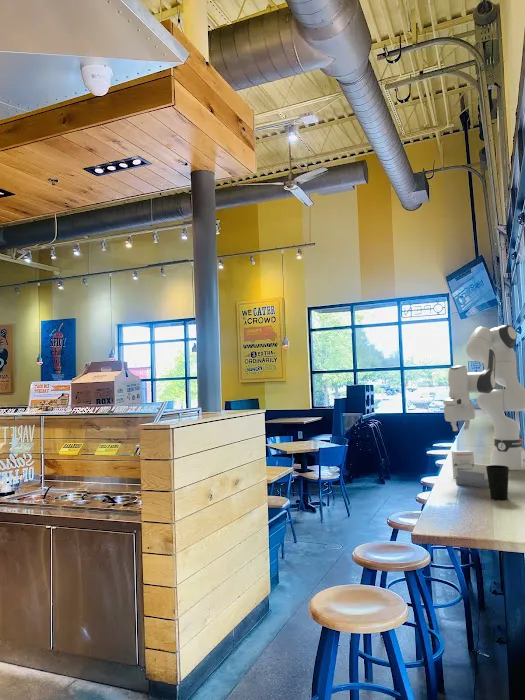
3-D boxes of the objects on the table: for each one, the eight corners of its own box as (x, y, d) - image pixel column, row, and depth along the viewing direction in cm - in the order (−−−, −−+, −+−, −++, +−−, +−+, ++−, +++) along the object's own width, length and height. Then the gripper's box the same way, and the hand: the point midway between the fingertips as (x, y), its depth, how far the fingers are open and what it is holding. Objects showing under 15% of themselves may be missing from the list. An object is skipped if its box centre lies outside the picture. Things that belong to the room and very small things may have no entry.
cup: (513, 501, 186) (511, 468, 187) (490, 501, 188) (488, 468, 188) (507, 497, 194) (505, 465, 194) (485, 496, 195) (484, 465, 196)
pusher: (476, 479, 227) (475, 463, 227) (499, 482, 219) (498, 465, 219) (470, 480, 224) (469, 464, 224) (493, 484, 216) (492, 467, 216)
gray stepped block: (475, 478, 229) (474, 465, 230) (505, 482, 219) (504, 468, 219) (456, 484, 219) (455, 470, 220) (486, 488, 209) (485, 473, 209)
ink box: (471, 475, 237) (470, 450, 238) (475, 477, 232) (473, 451, 233) (452, 476, 238) (451, 450, 238) (455, 478, 233) (454, 451, 233)
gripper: (465, 399, 246) (466, 428, 245) (441, 401, 233) (442, 431, 232) (477, 399, 241) (479, 429, 240) (453, 401, 228) (455, 432, 227)
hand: (461, 430), depth 236 cm, fingers open, 8 cm apart
